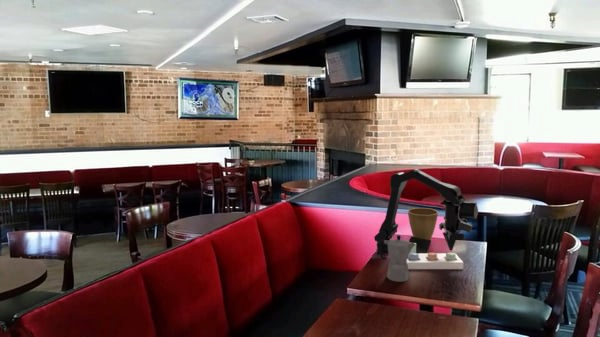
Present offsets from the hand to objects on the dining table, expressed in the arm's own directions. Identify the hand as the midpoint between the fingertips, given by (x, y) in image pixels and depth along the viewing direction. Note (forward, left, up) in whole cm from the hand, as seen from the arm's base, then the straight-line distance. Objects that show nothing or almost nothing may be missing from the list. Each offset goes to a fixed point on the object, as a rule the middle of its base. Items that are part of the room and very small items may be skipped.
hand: (450, 250), depth 204 cm
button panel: (-8, +1, -7) cm, 11 cm away
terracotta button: (-8, 0, -5) cm, 10 cm away
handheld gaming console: (-11, +20, -7) cm, 24 cm away
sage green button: (0, 0, -5) cm, 5 cm away
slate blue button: (-16, 0, -5) cm, 17 cm away
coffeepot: (-26, -15, -7) cm, 31 cm away
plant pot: (-5, +35, -7) cm, 36 cm away
